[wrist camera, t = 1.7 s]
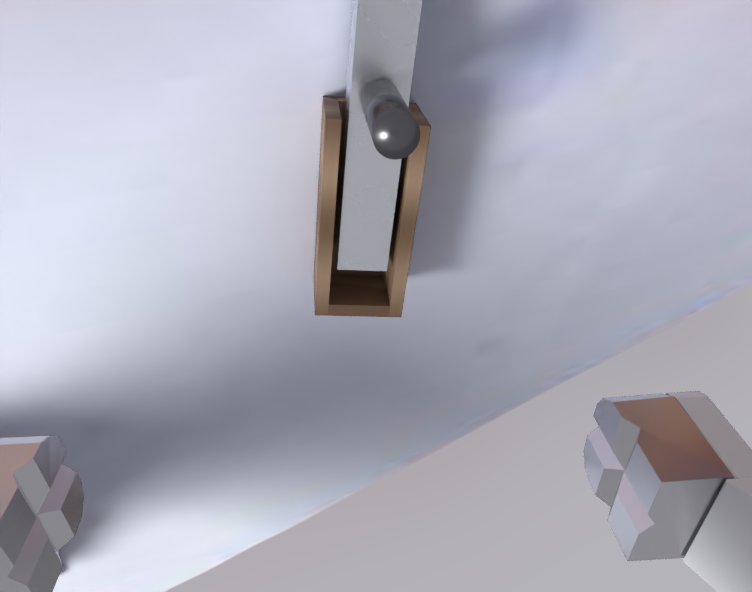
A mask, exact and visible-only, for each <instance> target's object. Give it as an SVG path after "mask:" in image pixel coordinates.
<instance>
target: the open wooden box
mask: <svg viewBox="0 0 752 592" xmlns="http://www.w3.org/2000/svg"><path fill="white" fill-rule="evenodd" d="M408 108H409V110H410V111H411V113H412V115H413V116H414V118H415V120H416V121H417V123H418V125H419V128H420V141H419V144H418V146H417V148H416V149H415V150H414V151H413V152H412V153H411V154H410V155H409V156H407V157H405V158H402V160H401V167H400V175H399V182H398V190H397V198H396V205H395V213H394V220H393V228H392V235H391V243H390V250H389V258H388V266H387V271H364V270H337V263H336V253H335V236H336V222H337V209H338V195H339V181H340V167H341V153H342V139H343V126H344V112H345V98H341V97H329V96H323V105H322V125H321V144H320V164H319V183H318V203H317V222H316V242H315V261H314V303H315V315H331V316H376V317H401V315H402V308H403V302H404V295H405V289H406V283H407V276H408V270H409V263H410V257H411V251H412V244H413V238H414V231H415V225H416V219H417V212H418V206H419V199H420V193H421V187H422V180H423V174H424V167H425V161H426V155H427V148H428V142H429V135H430V129H431V126H430V124H429V122H428V121H427V119H426V118H425V116H424V115H423V113H422V112H421V110H420V109H419V107H418V106H417V104H416V103H409V107H408Z"/></svg>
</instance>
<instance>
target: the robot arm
mask: <svg viewBox="0 0 752 592" xmlns="http://www.w3.org/2000/svg"><path fill="white" fill-rule="evenodd" d="M594 418H595V420H596V422H597V423H598V425H599V426H598V427H597V428H596V429H595V430H594V431H592V432H591V433H590V434H589V435H588V436H587V439H586V443H585V448H584V462H585V470H586V473H587V477H588V480H589V482H590V485H591V487H592V489H593V491H594V493H595V495H596V496H597V497H598V498H600V499H601V500H602V501H604V502H605V503H606V504H608V505H609V506H610V507H611V509H610V513H609V517H608V523H609V525H610V527H611V529H612V531H613V533H614V535H615V537H616V539H617V541H618V543H619V545H620V547H621V549H622V551H623V553H624V556H625V558H626V560H627V561H638V560H652V559H653V560H654V559H672V558H684V559H683V561H684V562H685V563H686V564H687V565H688V566H689V567H690V568H691V569H692V570H694V571H695V572H696V573H697V574H698V575H699V576H700V577H701V578H703V579H704V580H705V581H706V582H707V583H708V584H709V585H710V586H712V587H713V588H714V589H715V590H716V591H717V592H752V450H751V449H750V447H749V446H748V445H747V444H746V442H745V441H744V440H743V439H742V438H741V436H740V435H739V434H738V433H737V432H736V430H735V429H734V428H733V427H732V425H731V424H730V423H729V422H728V420H727V419H726V418H725V417H724V416H723V414H722V413H721V412H720V411H719V409H718V408H717V407H716V406H715V405H714V403H713V402H712V401H711V400H710V399H709V397H708V396H706V395H705V394H703V393H701V392H700V391H690V392H677V393H666V394H650V395H636V396H623V397H611V398H603V399H602V400H601V401H600V402H599V403H598V404H597V406H596V409H595V412H594ZM66 454H67V451H66V449H65V447H64V445H63V443H62V442H61V440H60V438H59V437H56V436H32V437H9V438H0V592H52V591H53V589H54V586H55V584H56V581H57V579H58V576H59V574H60V571H61V569H62V566H63V564H62V561H61V559H60V556H59V550H60V549H61V548H62V547H63V546H64V545H65V544H66V543H67V542H68V541H70V540H71V539H72V538H73V537H74V536H75V533H76V531H77V528H78V525H79V522H80V520H81V516H82V508H83V500H84V496H83V489H82V483H81V481H80V478H79V476H78V474H77V472H76V471H74V470H72V469H71V468H69V467H67V466H66V465H64V464H62V462H63V460H64V458H65V456H66Z"/></svg>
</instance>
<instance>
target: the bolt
mask: <svg viewBox="0 0 752 592" xmlns="http://www.w3.org/2000/svg"><path fill="white" fill-rule="evenodd" d="M422 1H423V0H353V1H352V15H351V29H350V43H349V56H348V70H347V84H346V98H345V112H344V126H343V139H342V153H341V167H340V181H339V195H338V209H337V222H336V236H335V253H336V263H337V270H364V271H387V266H388V258H389V250H390V243H391V235H392V228H393V220H394V213H395V205H396V198H397V190H398V182H399V175H400V167H401V160H402V158H405V157H407V156H409V155H410V154H411V153H412V152H413V151H414V150H415V149H416V148H417V146H418V144H419V141H420V128H419V125H418V123H417V121H416V120H415V118H414V116H413V115H412V113H411V111H410V110H409V108H408V107H409V99H410V92H411V84H412V77H413V69H414V61H415V54H416V46H417V39H418V31H419V24H420V16H421V9H422Z"/></svg>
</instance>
